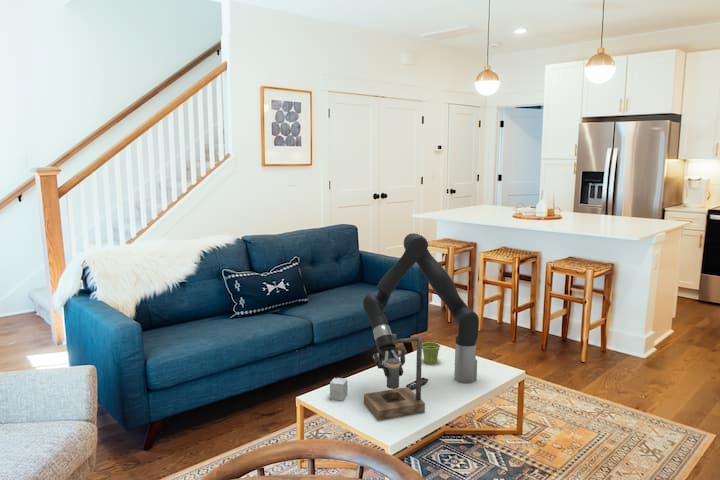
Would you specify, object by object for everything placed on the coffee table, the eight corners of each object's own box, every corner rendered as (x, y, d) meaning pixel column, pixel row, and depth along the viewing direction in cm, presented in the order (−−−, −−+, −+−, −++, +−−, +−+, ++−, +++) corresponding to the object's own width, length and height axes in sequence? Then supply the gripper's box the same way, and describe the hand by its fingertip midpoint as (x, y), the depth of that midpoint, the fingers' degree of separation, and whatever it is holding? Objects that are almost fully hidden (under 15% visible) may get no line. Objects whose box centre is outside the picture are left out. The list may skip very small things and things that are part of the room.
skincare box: (343, 401, 229) (343, 384, 228) (329, 399, 231) (329, 382, 230) (347, 395, 235) (347, 378, 234) (334, 393, 237) (334, 377, 236)
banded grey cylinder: (395, 382, 226) (396, 357, 225) (401, 387, 222) (401, 362, 220) (384, 384, 225) (384, 359, 223) (389, 389, 220) (390, 363, 218)
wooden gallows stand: (407, 395, 234) (408, 322, 229) (424, 412, 220) (426, 334, 214) (363, 403, 227) (364, 327, 222) (378, 420, 213) (379, 340, 208)
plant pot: (435, 367, 266) (435, 350, 265) (417, 363, 271) (417, 346, 270) (443, 361, 274) (443, 344, 272) (426, 357, 279) (426, 340, 277)
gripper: (370, 335, 224) (381, 374, 215) (402, 332, 229) (414, 370, 220) (365, 343, 230) (375, 382, 221) (396, 340, 235) (408, 377, 226)
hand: (394, 375), depth 221 cm, fingers closed on banded grey cylinder, 5 cm apart
